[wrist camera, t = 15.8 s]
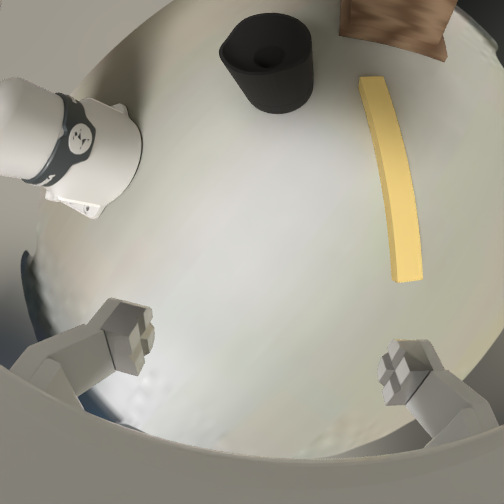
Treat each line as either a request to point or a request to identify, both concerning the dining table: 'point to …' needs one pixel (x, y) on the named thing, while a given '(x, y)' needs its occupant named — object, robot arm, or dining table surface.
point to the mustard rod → (393, 180)
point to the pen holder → (271, 61)
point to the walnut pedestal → (399, 23)
